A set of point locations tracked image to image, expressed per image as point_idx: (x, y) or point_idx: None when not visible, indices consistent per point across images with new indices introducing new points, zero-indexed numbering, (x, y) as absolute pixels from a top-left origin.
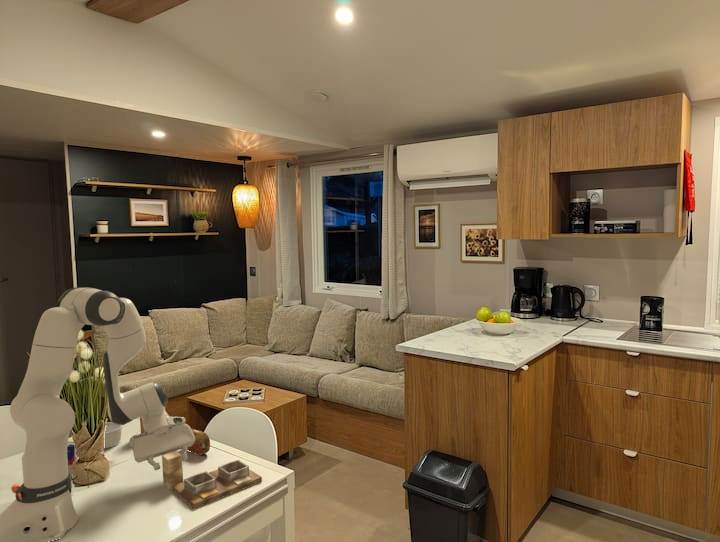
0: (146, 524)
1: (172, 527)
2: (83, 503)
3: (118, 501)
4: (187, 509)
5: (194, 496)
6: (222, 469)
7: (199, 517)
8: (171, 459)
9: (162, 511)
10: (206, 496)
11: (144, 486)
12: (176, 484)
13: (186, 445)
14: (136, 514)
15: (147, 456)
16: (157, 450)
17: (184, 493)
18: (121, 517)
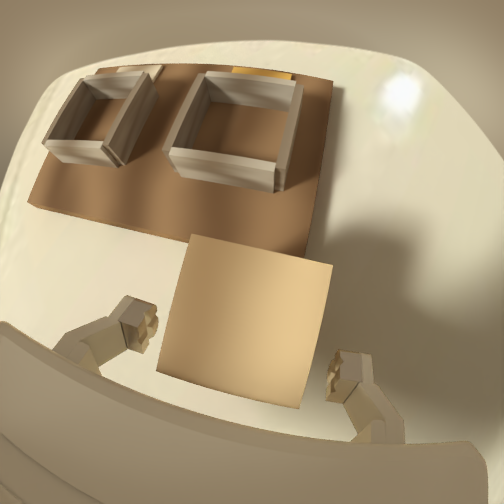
0: (463, 151)
1: (415, 85)
2: (500, 446)
3: (465, 376)
4: (346, 105)
5: (301, 108)
6: (122, 113)
7: (344, 59)
8: (294, 258)
9: (409, 163)
10: (279, 73)
11: (345, 419)
12: None
13: (55, 349)
14: (470, 227)
15: (421, 444)
16: (330, 459)
17: (311, 155)
18: (499, 255)
